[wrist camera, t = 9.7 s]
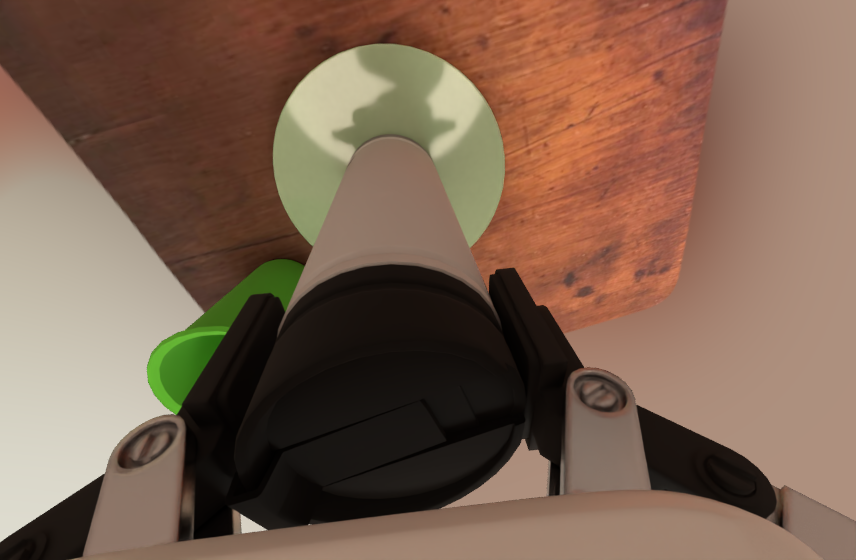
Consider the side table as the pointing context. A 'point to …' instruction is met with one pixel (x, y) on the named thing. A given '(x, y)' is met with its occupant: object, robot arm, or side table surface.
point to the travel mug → (380, 361)
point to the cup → (213, 332)
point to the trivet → (387, 131)
